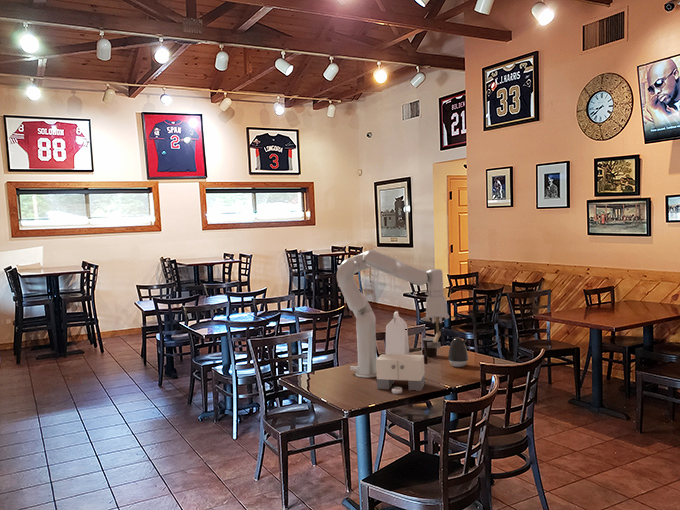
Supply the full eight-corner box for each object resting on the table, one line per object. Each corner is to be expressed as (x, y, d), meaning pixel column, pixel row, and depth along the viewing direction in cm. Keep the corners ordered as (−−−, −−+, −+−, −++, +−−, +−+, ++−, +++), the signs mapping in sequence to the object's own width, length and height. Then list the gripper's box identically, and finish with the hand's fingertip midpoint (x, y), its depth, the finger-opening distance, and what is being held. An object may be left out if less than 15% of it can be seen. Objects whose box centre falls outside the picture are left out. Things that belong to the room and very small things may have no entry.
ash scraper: (427, 348, 248) (425, 326, 247) (433, 334, 270) (431, 315, 269) (440, 348, 246) (439, 326, 245) (445, 334, 268) (443, 315, 267)
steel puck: (391, 394, 234) (391, 390, 234) (391, 391, 239) (391, 386, 239) (402, 394, 234) (402, 389, 234) (402, 391, 238) (402, 386, 238)
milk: (389, 354, 315) (388, 310, 314) (409, 355, 311) (407, 310, 310) (385, 359, 303) (383, 313, 302) (405, 359, 300) (403, 313, 299)
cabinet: (376, 389, 242) (375, 360, 242) (382, 381, 255) (381, 353, 254) (420, 391, 236) (419, 361, 236) (424, 383, 249) (423, 355, 248)
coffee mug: (428, 354, 312) (427, 337, 312) (441, 355, 306) (440, 338, 306) (417, 357, 303) (417, 340, 303) (431, 359, 297) (430, 341, 297)
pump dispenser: (465, 369, 273) (464, 339, 273) (445, 367, 279) (444, 338, 278) (471, 364, 282) (470, 336, 281) (452, 363, 287) (451, 335, 287)
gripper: (419, 295, 263) (421, 332, 264) (451, 294, 259) (453, 332, 259) (421, 293, 271) (423, 329, 271) (452, 292, 266) (454, 329, 266)
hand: (437, 330), depth 265 cm, fingers closed on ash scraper, 1 cm apart
